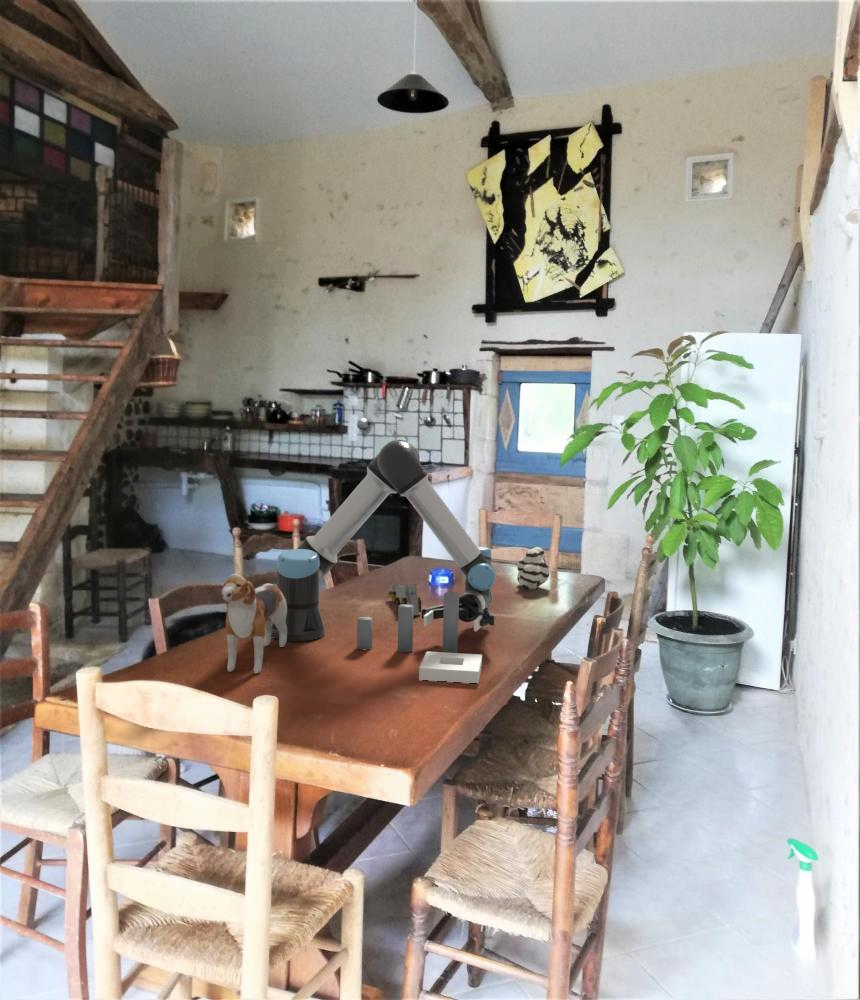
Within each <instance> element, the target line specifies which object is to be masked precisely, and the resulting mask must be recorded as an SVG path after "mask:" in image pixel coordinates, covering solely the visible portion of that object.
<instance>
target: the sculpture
mask: <svg viewBox="0 0 860 1000" xmlns="http://www.w3.org/2000/svg"><path fill="white" fill-rule="evenodd" d="M516 567H517V571H518V573H517V579H516V580H517V582H518V584H519V587H520V588H522V589H524V590H535V589H536V588H538V587H540V586H541V585H543V584H545V583H546V582H547V581H548V580H549V577H550V567H549V564H548V562H547V561H546V559H545V551H544V548H542V547H540V546H535V547H533V548H531V549H529V550H528V551H526V553H525V555H524V556H523V557H522V558H521V559H519V560H518V562H517V566H516Z"/></svg>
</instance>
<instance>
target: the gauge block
mask: <svg viewBox="0 0 860 1000" xmlns="http://www.w3.org/2000/svg"><path fill="white" fill-rule="evenodd" d="M424 654H425V655H424V657H423V658H422V661H421V663H420V666H419V669H418V681H422V680H428V681H427V682H437V681H447V682H446V683H453V682H463V683H462V684H469V683H477V684H476V685H479V684H478V683H479V682H480V679H481V673H482V668H483V667H482V666H483V654H479V653H478V654H477V653H462V652H461V653H460V652H458V653H446V652H442V651H429V650H428V651H426V652H425V653H424ZM481 667H482V668H481Z"/></svg>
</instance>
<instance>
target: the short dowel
mask: <svg viewBox="0 0 860 1000" xmlns="http://www.w3.org/2000/svg"><path fill="white" fill-rule="evenodd" d="M356 620H357V627H356V631H357V632H356V649H357V648H358V649H357V650H359V649H370V648H372V649H373V618H372V617H370V616H360V617H357V619H356ZM370 650H371V649H370Z"/></svg>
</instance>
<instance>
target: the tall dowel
mask: <svg viewBox="0 0 860 1000" xmlns="http://www.w3.org/2000/svg"><path fill="white" fill-rule="evenodd" d="M459 598H460V592H455V591H447V592H444V593H443V604H444V613H443V618H442V620H443V621H442V625H443V626H442V651H441V652H446V653H459V652H458V650H459V621H460V619H459Z"/></svg>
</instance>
